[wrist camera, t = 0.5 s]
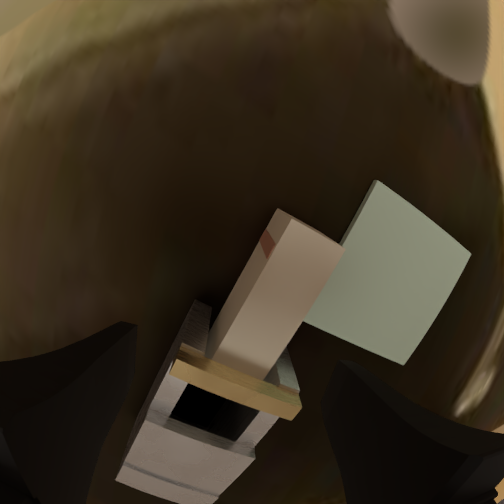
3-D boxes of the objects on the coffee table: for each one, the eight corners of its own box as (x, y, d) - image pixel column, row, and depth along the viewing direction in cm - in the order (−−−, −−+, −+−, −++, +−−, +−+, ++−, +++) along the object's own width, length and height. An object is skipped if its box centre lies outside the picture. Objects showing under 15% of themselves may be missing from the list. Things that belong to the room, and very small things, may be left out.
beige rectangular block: (319, 231, 19) (346, 249, 15) (243, 358, 21) (246, 404, 16) (276, 207, 19) (291, 217, 14) (203, 340, 21) (195, 384, 16)
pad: (466, 252, 20) (471, 253, 20) (400, 361, 22) (403, 365, 21) (373, 180, 19) (377, 180, 18) (296, 314, 20) (298, 318, 20)
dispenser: (284, 340, 21) (304, 404, 14) (208, 447, 23) (204, 510, 16) (195, 299, 20) (178, 355, 13) (135, 419, 22) (115, 480, 15)
